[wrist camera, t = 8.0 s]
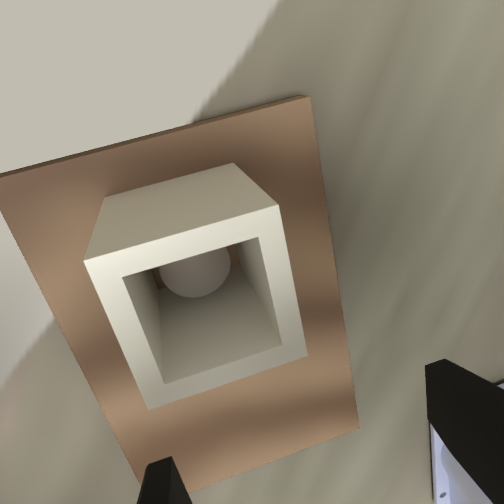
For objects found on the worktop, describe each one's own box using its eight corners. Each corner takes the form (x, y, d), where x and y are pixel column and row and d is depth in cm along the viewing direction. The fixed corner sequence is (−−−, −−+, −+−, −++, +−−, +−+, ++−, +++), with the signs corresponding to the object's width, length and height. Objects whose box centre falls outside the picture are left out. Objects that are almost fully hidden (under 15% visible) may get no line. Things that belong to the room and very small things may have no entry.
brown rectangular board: (350, 412, 24) (388, 473, 21) (151, 486, 23) (152, 566, 19) (299, 95, 17) (344, 99, 13) (-4, 174, 15) (-52, 205, 12)
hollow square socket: (259, 273, 18) (307, 356, 13) (146, 308, 17) (148, 410, 12) (233, 162, 16) (278, 204, 11) (104, 197, 15) (83, 260, 10)
